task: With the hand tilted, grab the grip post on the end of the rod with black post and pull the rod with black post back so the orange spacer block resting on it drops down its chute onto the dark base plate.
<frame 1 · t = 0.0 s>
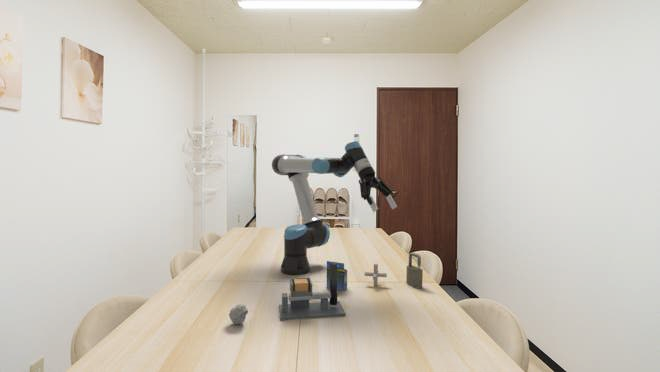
hand: (385, 209, 159), 36 cm above the table, tool tilted 35°, fingers open, 13 cm apart
label tape cartridge: (336, 288, 161), on the table
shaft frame: (316, 311, 136), on the table
pipe connector: (375, 285, 165), on the table
padlock: (414, 285, 166), on the table
rod with black post: (313, 284, 135), point 10 cm above the table, slide at 0.0 cm, touching orange spacer
grey lumpy piece: (238, 324, 124), on the table
orange spacer: (300, 294, 134), point 7 cm above the table, touching rod with black post
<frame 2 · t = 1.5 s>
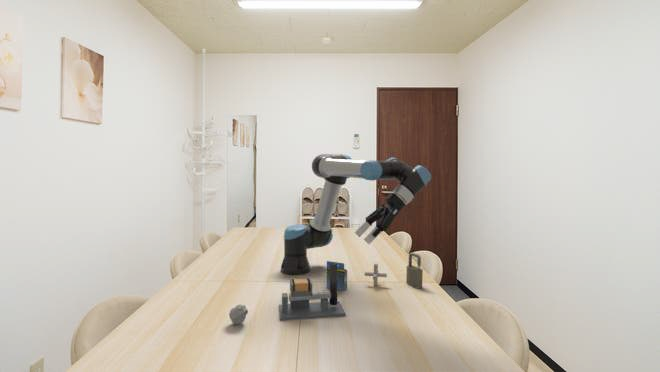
hand: (361, 238, 137), 28 cm above the table, tool tilted 45°, fingers open, 13 cm apart
nothing on the table moved.
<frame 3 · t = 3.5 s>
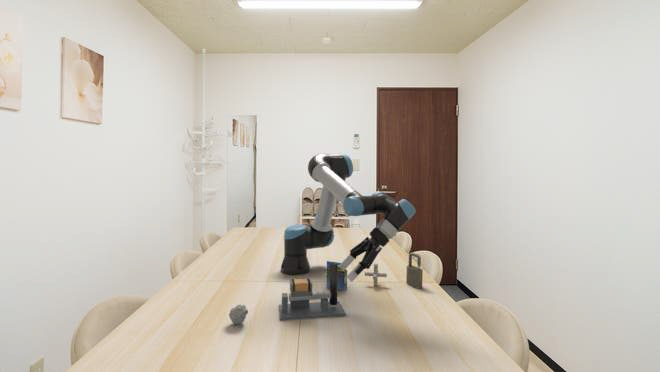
hand: (344, 273, 136), 14 cm above the table, tool tilted 45°, fingers open, 13 cm apart
nothing on the table moved.
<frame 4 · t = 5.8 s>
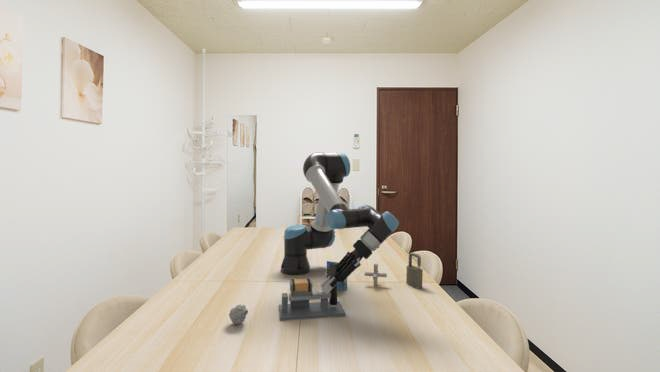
hand: (323, 289, 136), 8 cm above the table, tool tilted 45°, fingers closed on rod with black post, 3 cm apart
rod with black post: (313, 284, 135), point 10 cm above the table, slide at 0.0 cm, touching gripper, orange spacer
everything else where it was.
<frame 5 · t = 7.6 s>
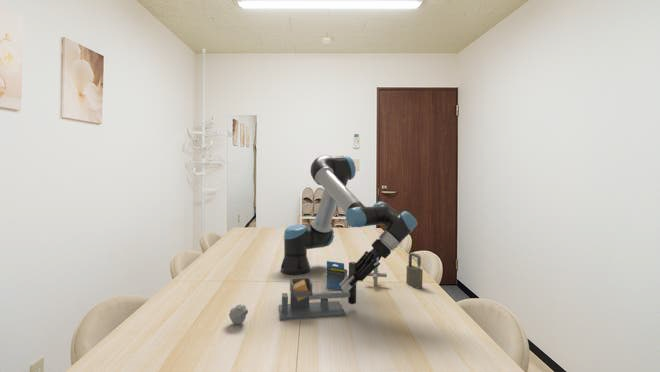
hand: (342, 288, 137), 8 cm above the table, tool tilted 45°, fingers closed on rod with black post, 3 cm apart
rod with black post: (332, 283, 136), point 10 cm above the table, slide at 7.4 cm, touching gripper, orange spacer
orange spacer: (303, 295, 135), point 6 cm above the table, tilted 22°, touching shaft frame, rod with black post
everything else where it was.
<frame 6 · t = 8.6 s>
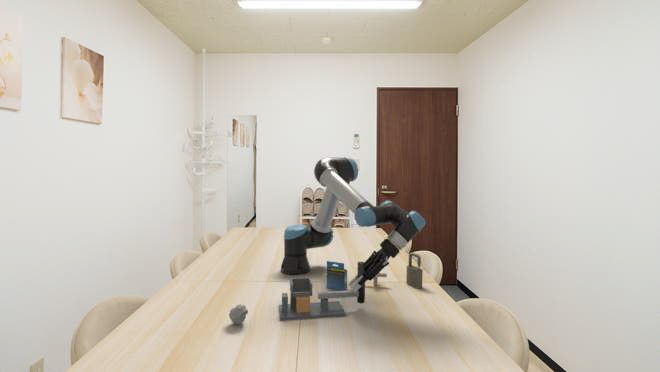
hand: (351, 288, 138), 8 cm above the table, tool tilted 45°, fingers closed on rod with black post, 3 cm apart
rod with black post: (341, 283, 137), point 10 cm above the table, slide at 10.9 cm, touching gripper
orange spacer: (302, 309, 135), point 1 cm above the table, touching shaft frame
everything else where it was.
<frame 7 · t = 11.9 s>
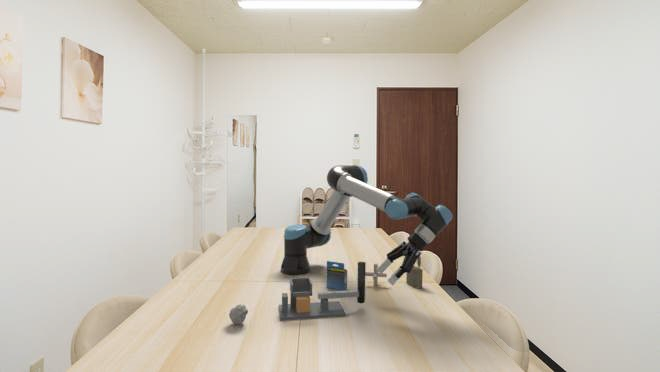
hand: (383, 277, 140), 12 cm above the table, tool tilted 45°, fingers open, 13 cm apart
rod with black post: (341, 283, 137), point 10 cm above the table, slide at 11.0 cm
everything else where it was.
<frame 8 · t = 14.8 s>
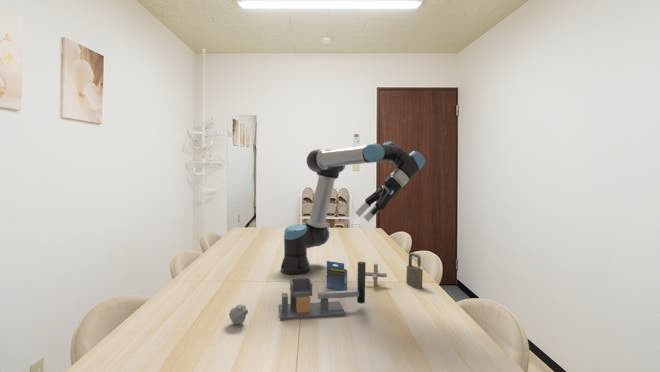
hand: (361, 217, 151), 34 cm above the table, tool tilted 45°, fingers open, 13 cm apart
nothing on the table moved.
at the end: rod with black post slide at 11.0 cm; orange spacer point 1.0 cm above the table; orange spacer 5.2 cm from the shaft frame (horizontally) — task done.
